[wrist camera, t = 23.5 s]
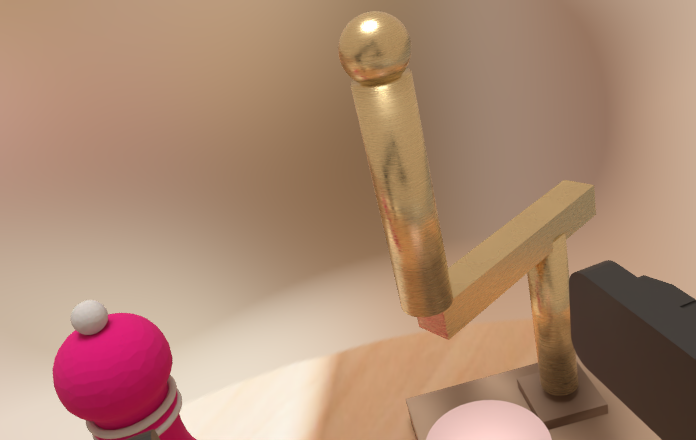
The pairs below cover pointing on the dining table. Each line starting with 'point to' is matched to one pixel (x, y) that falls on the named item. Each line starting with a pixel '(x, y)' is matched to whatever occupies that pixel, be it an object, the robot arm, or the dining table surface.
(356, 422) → the dining table surface
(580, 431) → the base
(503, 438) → the cover
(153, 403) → the pepper mill
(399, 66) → the brass crank handle
